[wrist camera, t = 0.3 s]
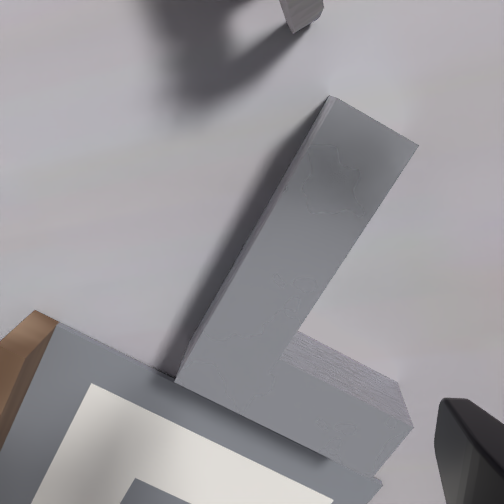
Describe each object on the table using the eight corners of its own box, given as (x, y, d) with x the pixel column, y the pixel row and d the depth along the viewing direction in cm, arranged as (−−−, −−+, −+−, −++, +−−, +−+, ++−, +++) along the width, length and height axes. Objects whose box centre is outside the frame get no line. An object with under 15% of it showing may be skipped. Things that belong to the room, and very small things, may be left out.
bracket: (329, 95, 18) (337, 98, 15) (530, 211, 19) (573, 234, 16) (188, 342, 22) (174, 382, 19) (360, 429, 22) (371, 478, 20)
